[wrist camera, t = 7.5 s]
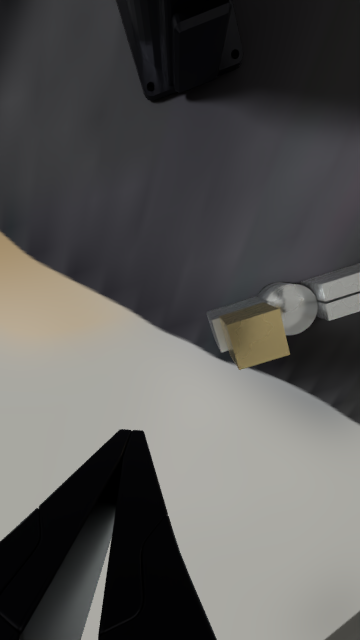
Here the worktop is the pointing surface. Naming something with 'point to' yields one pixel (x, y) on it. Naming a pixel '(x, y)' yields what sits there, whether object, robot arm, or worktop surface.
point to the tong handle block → (289, 298)
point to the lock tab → (255, 335)
